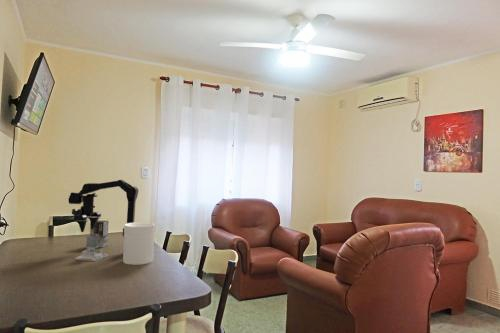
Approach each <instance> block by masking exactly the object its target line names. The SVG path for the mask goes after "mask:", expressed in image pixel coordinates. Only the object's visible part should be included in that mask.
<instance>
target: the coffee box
mask: <svg viewBox="0 0 500 333" xmlns="http://www.w3.org/2000/svg"><path fill="white" fill-rule="evenodd" d="M89 227H90V226H89ZM89 230H90V231H89V235H91V234H94V235H99V241H98V247H97V248H104V247H105V248H106V247H108V245H109V244H108V242H109V239H108V238H109V220H99V219H98V221H97V222H96V224H95V226H94V228H93V229H91V227H90V229H89Z"/></svg>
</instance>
